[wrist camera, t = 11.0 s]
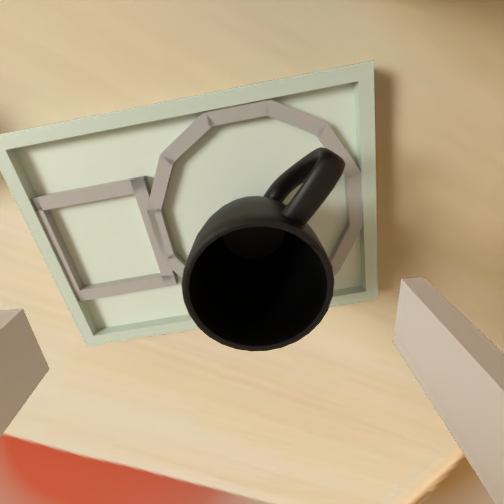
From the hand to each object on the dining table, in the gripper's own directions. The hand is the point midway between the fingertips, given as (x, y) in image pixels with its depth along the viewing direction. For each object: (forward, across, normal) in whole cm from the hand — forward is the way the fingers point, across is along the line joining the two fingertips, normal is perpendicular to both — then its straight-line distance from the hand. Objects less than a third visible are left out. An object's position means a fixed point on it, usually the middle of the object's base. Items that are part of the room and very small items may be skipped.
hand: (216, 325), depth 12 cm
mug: (+15, +3, -1) cm, 15 cm away
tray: (+16, -2, -1) cm, 16 cm away
